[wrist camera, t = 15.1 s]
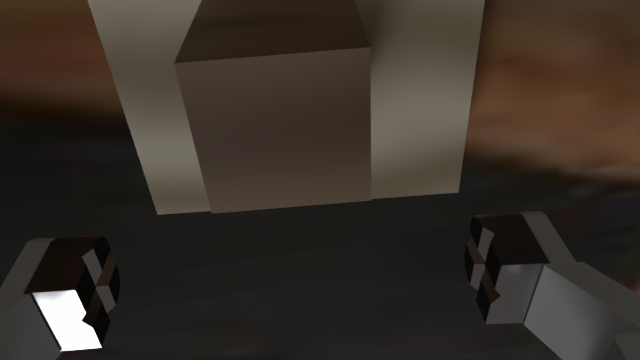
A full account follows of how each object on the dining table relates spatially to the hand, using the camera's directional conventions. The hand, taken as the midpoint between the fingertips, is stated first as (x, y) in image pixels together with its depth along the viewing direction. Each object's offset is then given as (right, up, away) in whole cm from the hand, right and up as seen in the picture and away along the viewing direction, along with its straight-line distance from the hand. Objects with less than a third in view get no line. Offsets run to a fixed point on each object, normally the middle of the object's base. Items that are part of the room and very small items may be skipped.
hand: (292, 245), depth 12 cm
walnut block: (-1, +6, +8) cm, 10 cm away
